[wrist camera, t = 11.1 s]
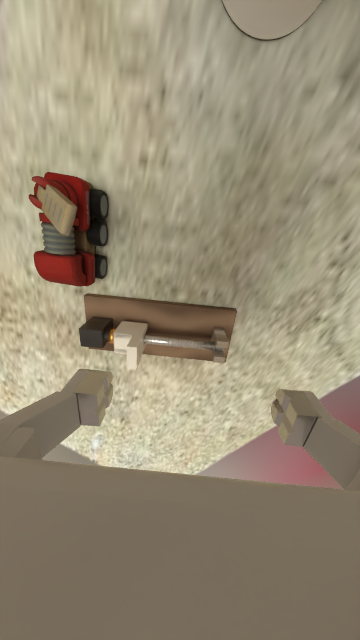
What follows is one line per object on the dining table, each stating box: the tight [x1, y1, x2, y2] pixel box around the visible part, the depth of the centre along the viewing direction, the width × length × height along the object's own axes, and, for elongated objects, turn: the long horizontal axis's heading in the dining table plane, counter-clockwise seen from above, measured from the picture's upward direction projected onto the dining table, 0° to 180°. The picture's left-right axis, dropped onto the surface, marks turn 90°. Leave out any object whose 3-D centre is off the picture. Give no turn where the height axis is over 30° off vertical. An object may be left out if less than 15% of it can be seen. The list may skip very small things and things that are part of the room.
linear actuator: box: [84, 294, 237, 363], centre depth 40 cm, size 12×30×8 cm, turn 85°
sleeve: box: [114, 321, 147, 370], centre depth 36 cm, size 4×5×9 cm
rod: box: [79, 316, 225, 351], centre depth 39 cm, size 4×26×6 cm, turn 85°
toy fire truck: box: [29, 172, 108, 286], centre depth 29 cm, size 11×16×18 cm
